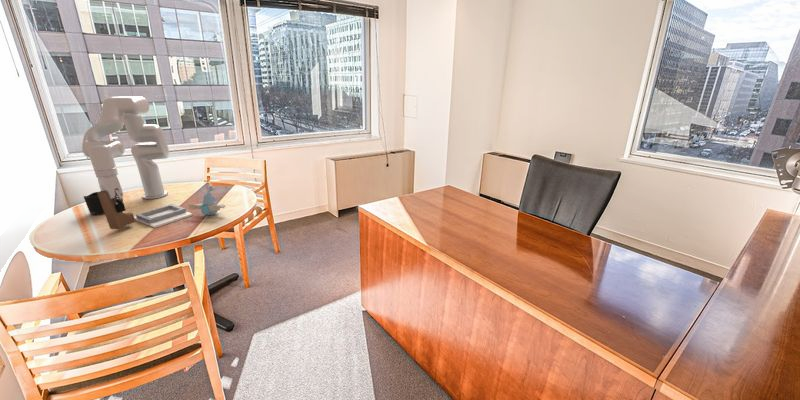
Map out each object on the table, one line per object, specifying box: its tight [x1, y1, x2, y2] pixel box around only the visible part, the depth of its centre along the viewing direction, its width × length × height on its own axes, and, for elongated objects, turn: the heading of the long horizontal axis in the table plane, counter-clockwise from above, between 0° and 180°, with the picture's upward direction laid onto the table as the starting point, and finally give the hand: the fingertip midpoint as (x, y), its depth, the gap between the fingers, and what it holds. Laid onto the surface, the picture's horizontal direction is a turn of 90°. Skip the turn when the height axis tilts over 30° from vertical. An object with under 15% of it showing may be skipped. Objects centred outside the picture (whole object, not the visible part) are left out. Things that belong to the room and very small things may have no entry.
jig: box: [133, 203, 193, 229], centre depth 170 cm, size 22×18×3 cm
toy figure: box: [188, 184, 226, 216], centre depth 172 cm, size 17×10×15 cm, turn 84°
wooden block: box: [97, 190, 136, 230], centre depth 153 cm, size 9×4×18 cm, turn 170°
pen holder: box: [83, 191, 105, 216], centre depth 174 cm, size 9×9×10 cm
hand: (118, 209), depth 154 cm, fingers closed on wooden block, 5 cm apart
